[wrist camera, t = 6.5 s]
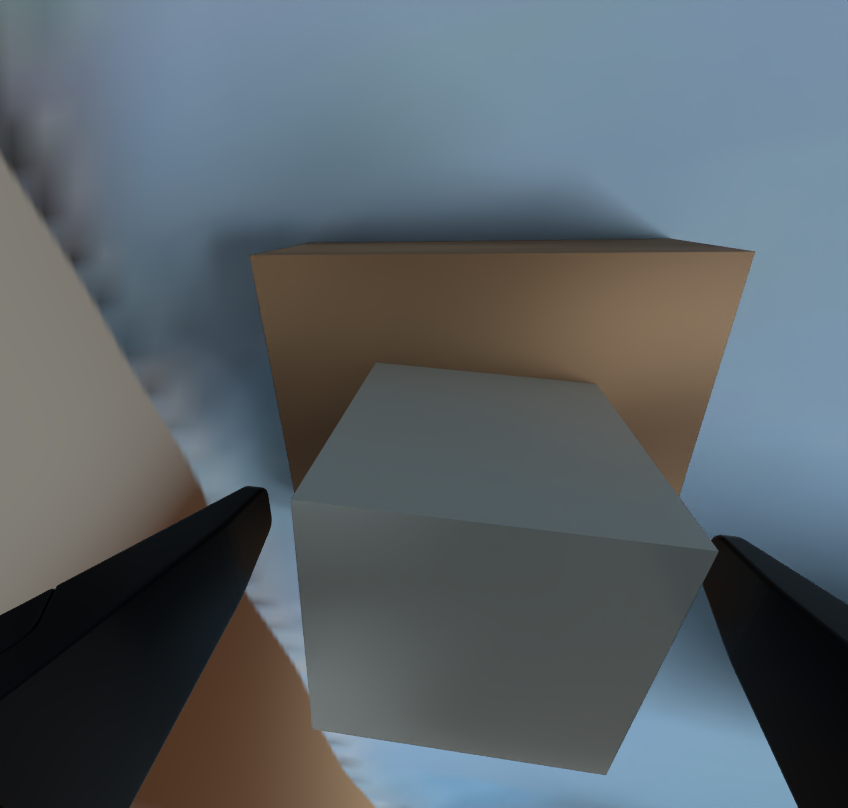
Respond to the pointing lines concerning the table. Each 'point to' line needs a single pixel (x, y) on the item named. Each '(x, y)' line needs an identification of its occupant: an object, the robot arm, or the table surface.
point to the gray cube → (489, 568)
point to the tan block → (503, 325)
